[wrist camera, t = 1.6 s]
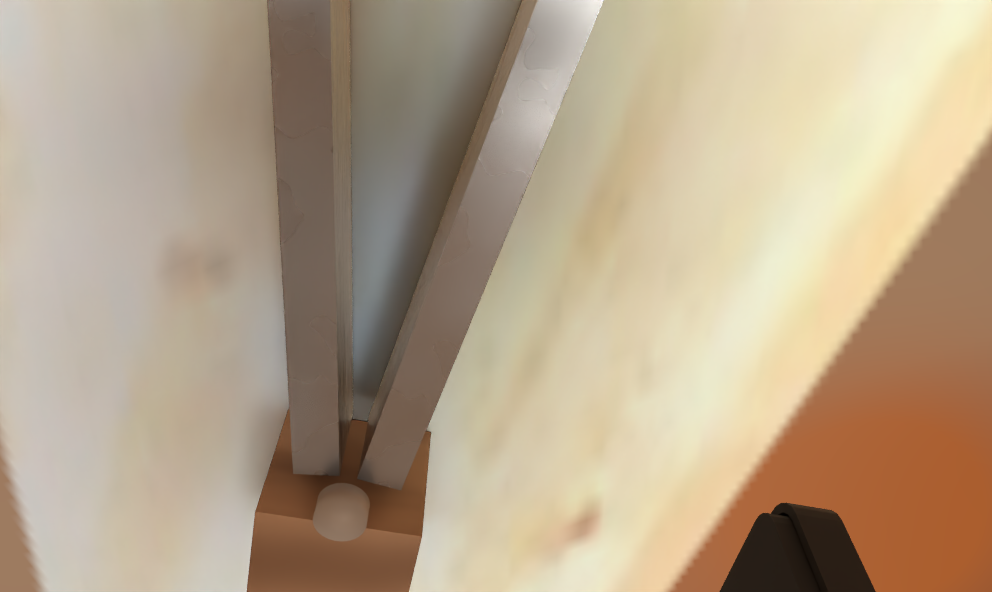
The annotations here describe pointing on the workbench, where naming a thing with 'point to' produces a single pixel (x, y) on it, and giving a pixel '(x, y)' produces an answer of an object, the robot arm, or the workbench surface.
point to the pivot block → (336, 525)
